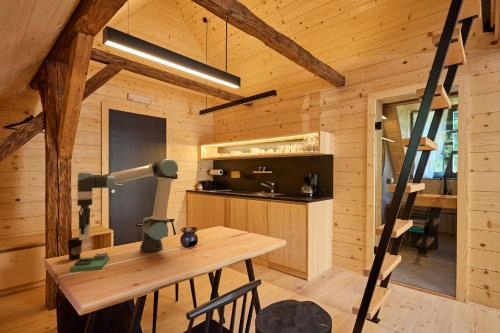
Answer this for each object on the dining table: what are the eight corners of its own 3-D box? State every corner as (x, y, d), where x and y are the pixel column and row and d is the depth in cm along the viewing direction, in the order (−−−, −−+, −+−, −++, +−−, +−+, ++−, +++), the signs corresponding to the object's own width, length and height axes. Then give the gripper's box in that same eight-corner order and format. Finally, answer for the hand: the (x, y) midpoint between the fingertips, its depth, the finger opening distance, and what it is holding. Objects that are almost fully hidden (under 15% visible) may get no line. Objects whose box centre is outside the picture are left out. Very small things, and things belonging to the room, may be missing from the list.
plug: (89, 238, 159) (90, 224, 159) (87, 239, 155) (87, 225, 155) (81, 238, 157) (81, 224, 158) (79, 240, 154) (79, 225, 154)
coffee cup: (86, 257, 172) (86, 237, 172) (74, 261, 164) (74, 240, 164) (75, 256, 175) (75, 236, 175) (63, 260, 167) (63, 239, 167)
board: (109, 259, 169) (109, 251, 169) (101, 269, 152) (101, 260, 152) (80, 261, 165) (80, 253, 165) (69, 271, 148) (69, 262, 148)
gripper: (82, 197, 164) (81, 235, 163) (72, 200, 147) (71, 242, 147) (96, 197, 166) (95, 234, 165) (87, 199, 149) (86, 241, 149)
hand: (84, 238), depth 156 cm, fingers closed on plug, 4 cm apart
